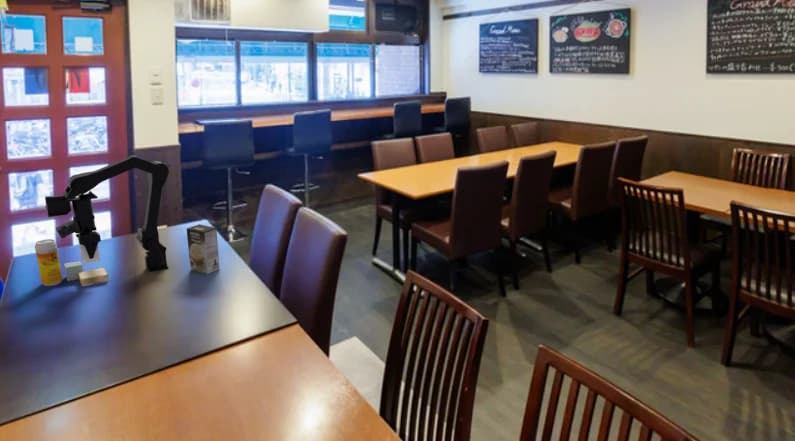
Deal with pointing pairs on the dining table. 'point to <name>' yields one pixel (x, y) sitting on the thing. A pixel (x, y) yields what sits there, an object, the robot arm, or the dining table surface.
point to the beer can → (48, 262)
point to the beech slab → (93, 277)
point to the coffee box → (203, 248)
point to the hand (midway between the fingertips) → (90, 256)
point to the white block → (85, 255)
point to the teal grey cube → (73, 270)
